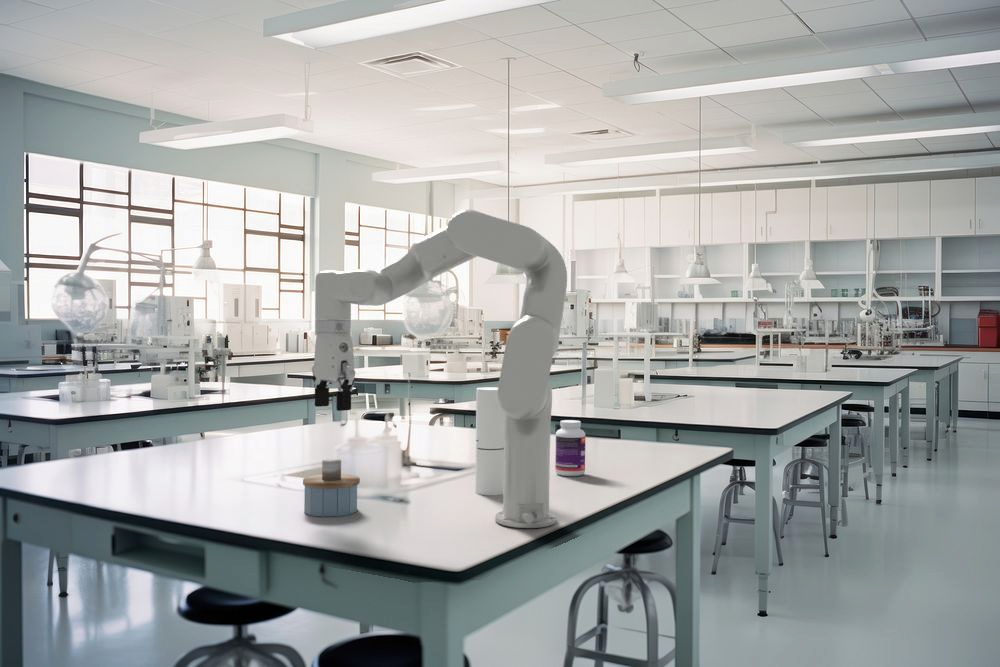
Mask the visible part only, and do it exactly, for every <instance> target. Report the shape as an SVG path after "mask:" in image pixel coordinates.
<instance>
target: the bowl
mask: <svg viewBox="0 0 1000 667" xmlns="http://www.w3.org/2000/svg"><path fill="white" fill-rule="evenodd" d="M303 507H304V512H303V513H304V514H306V515H309V516H310V517H311V516H312V517H319V516H321V518H326V517H325V516H329V517H330V516H337V517H343V516H342V515H344V516H349V515H352V514H354V512H355V513H357V511H358V485H355V486H351V487H346V488H335V489H321V488H311V487H307V486H304V506H303ZM329 517H328V518H329Z"/></svg>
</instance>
